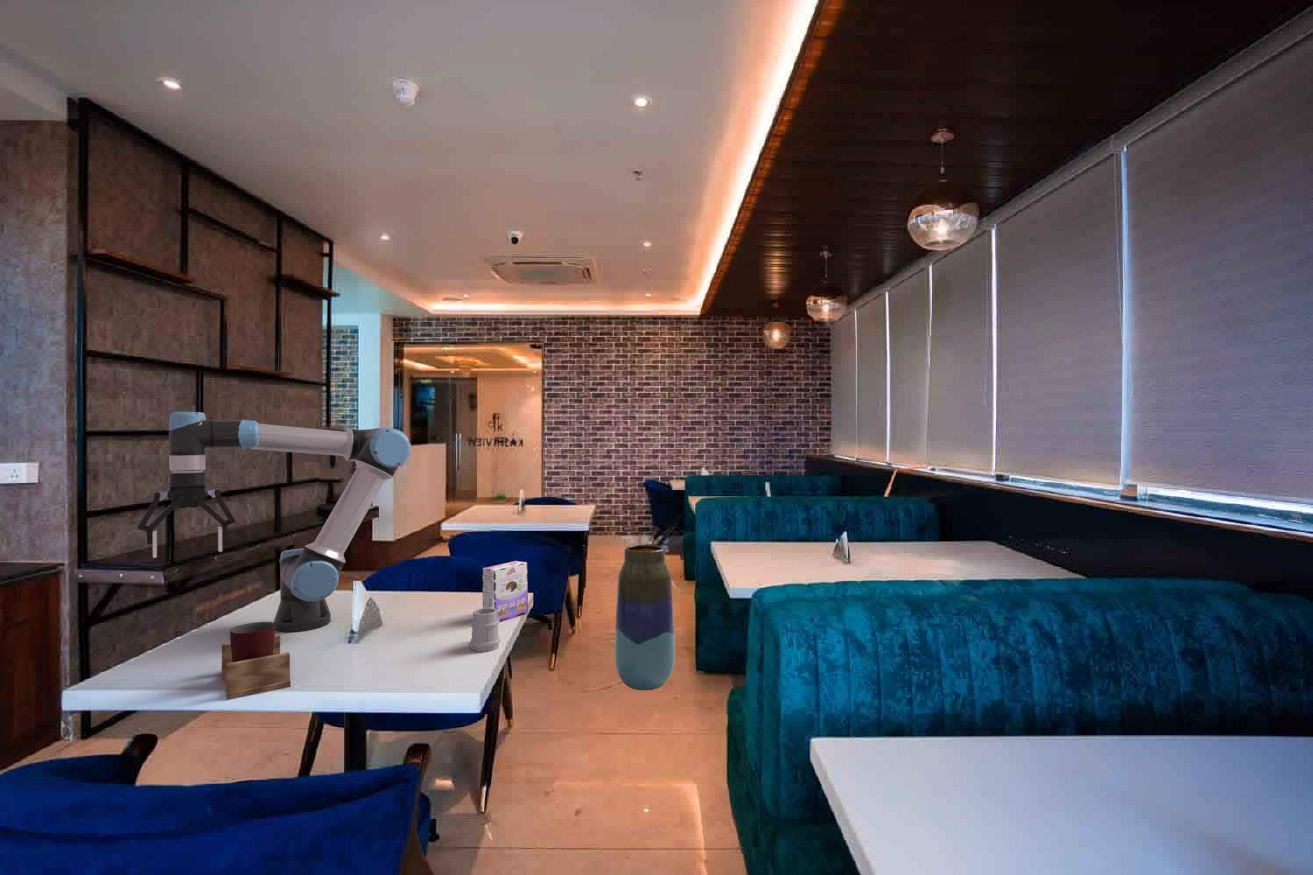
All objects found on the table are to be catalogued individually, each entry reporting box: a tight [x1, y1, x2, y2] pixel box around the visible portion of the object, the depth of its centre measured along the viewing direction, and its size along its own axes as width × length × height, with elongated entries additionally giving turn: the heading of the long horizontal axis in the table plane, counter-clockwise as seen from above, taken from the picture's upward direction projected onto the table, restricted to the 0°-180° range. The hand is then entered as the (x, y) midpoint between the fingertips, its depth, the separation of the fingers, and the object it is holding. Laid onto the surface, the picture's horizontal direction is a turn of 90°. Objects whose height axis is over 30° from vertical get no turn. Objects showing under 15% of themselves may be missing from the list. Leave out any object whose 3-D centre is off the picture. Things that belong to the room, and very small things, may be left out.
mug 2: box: [469, 597, 501, 653], centre depth 174 cm, size 8×12×12 cm, turn 177°
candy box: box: [482, 560, 529, 623], centre depth 201 cm, size 14×6×16 cm, turn 144°
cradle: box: [221, 633, 292, 701], centre depth 150 cm, size 12×20×7 cm, turn 37°
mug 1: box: [229, 621, 276, 662], centre depth 150 cm, size 12×9×11 cm
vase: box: [614, 544, 676, 691], centre depth 147 cm, size 14×14×31 cm
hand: (188, 554), depth 165 cm, fingers open, 13 cm apart
